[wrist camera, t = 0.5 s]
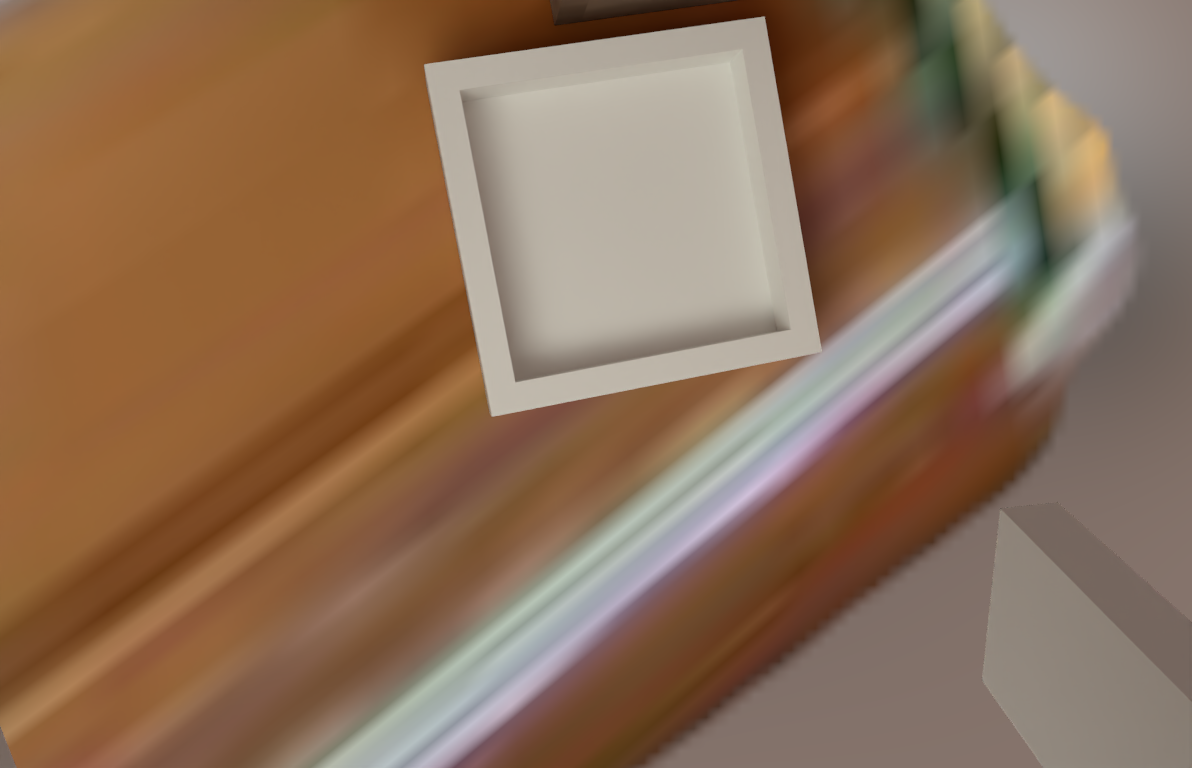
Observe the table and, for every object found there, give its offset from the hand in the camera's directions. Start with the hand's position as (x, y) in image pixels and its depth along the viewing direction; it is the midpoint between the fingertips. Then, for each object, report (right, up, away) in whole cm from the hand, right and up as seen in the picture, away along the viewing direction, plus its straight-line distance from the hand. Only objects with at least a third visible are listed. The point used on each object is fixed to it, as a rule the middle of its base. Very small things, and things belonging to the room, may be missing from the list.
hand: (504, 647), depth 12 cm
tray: (+2, +9, +23) cm, 25 cm away
